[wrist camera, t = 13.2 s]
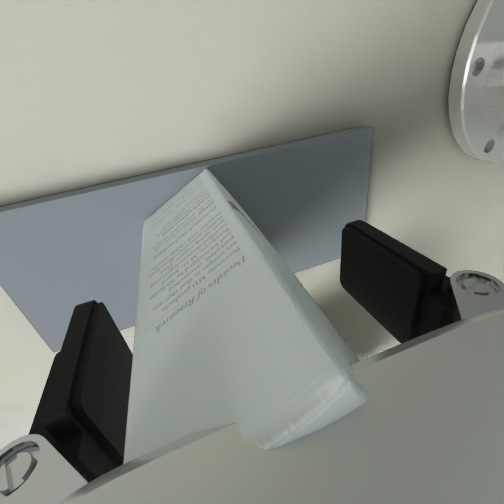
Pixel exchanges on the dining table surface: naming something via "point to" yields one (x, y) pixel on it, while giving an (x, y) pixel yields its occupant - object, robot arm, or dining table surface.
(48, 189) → the dining table surface
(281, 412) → the skincare box
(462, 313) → the robot arm
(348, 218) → the mat
